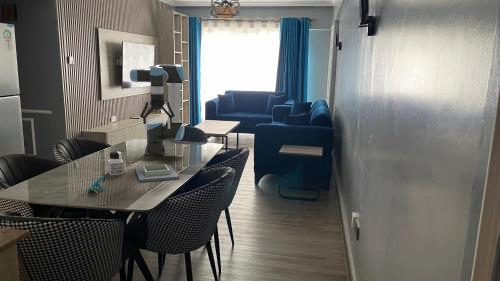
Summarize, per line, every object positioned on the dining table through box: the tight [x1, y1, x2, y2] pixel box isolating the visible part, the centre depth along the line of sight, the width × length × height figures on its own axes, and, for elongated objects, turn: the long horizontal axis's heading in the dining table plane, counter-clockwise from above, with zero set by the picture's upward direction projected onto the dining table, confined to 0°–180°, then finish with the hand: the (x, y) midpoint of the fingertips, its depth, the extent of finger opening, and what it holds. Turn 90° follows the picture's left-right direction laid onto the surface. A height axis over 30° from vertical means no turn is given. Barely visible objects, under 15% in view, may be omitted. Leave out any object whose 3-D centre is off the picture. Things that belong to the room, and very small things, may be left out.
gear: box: [87, 175, 105, 194], centre depth 195 cm, size 11×6×10 cm
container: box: [107, 150, 125, 176], centre depth 226 cm, size 8×8×13 cm
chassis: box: [134, 163, 180, 183], centre depth 228 cm, size 26×22×4 cm
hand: (157, 129), depth 229 cm, fingers open, 13 cm apart
